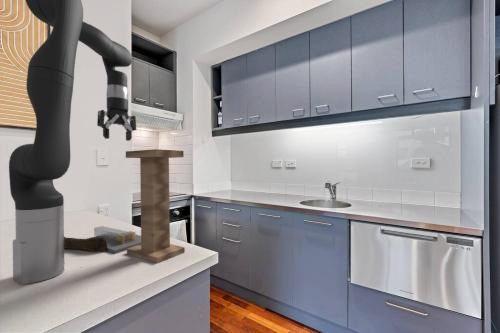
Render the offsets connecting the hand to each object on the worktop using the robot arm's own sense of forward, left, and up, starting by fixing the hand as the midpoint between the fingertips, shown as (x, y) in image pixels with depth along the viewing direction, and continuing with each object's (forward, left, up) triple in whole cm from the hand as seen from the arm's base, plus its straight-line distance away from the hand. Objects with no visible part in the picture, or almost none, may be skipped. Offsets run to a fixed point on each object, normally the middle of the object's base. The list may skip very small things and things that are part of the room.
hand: (118, 139), depth 96 cm
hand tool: (-15, -5, -38) cm, 42 cm away
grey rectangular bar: (-5, -5, -37) cm, 38 cm away
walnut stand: (-5, -29, -38) cm, 48 cm away
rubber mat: (-5, -8, -38) cm, 39 cm away
